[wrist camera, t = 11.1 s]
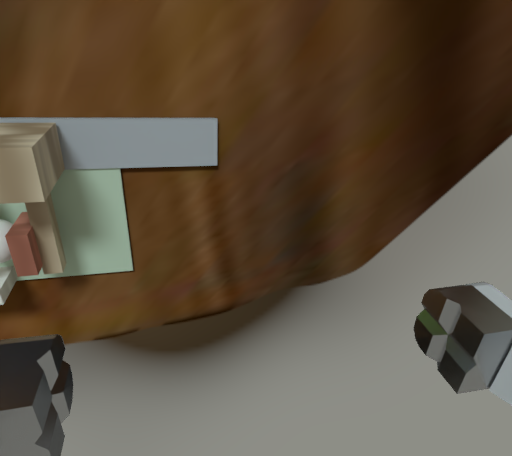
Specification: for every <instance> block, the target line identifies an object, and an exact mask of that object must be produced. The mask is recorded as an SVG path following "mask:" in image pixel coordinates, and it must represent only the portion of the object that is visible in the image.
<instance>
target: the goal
mask: <svg viewBox="0 0 512 456" xmlns="http://www.w3.org/2000/svg"><path fill="white" fill-rule="evenodd" d="M17 279H18V278H17V275H16V272H15V269H14V266H8V267H0V305H4V303H5V301H6V299H7V297H8V295H9V294H10V292H11V290H12V288H13V286H14V284H15V282H16V280H17Z"/></svg>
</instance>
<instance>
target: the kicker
mask: <svg viewBox="0 0 512 456" xmlns="http://www.w3.org/2000/svg"><path fill="white" fill-rule="evenodd" d="M64 169H65V167H64V162H63V157H62V152H61V147H60V142H59V137H58V132H57V127H56V123H0V204H6V203H25V206H26V210H27V212H21V214H20V215H19V217H18V218H17V220H16V221H15V223H14V224H13V225H12V227H11V228H10V230H9V231H8V233H7V234H6V236H5V238H6V241H7V244H8V247H9V251H10V254H11V257H12V260H13V263H14V267H15V270H16V273H17V276H18V277H20V276H32V275H38V274H39V272H40V270H41V268H42V269H43V273H44V274H55V273H63V272H64V269H65V266H66V259H65V254H64V250H63V245H62V241H61V237H60V232H59V228H58V224H57V219H56V215H55V211H54V206H53V202H52V197H51V193H50V192H51V191H52V189H53V187H54V186H55V184H56V182H57V181H58V179H59V177H60V176H61V174H62V173H63V171H64Z"/></svg>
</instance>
